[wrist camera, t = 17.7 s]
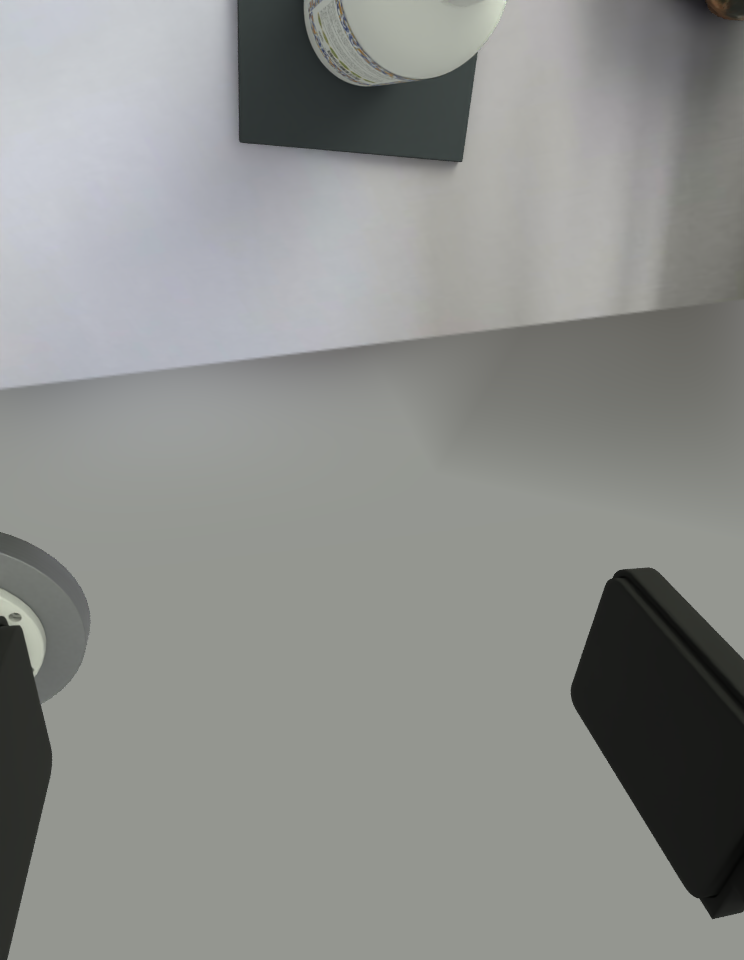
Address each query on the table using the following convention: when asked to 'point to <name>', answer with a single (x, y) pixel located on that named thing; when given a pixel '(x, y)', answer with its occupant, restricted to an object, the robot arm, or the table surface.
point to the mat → (339, 96)
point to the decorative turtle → (727, 8)
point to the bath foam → (398, 36)
